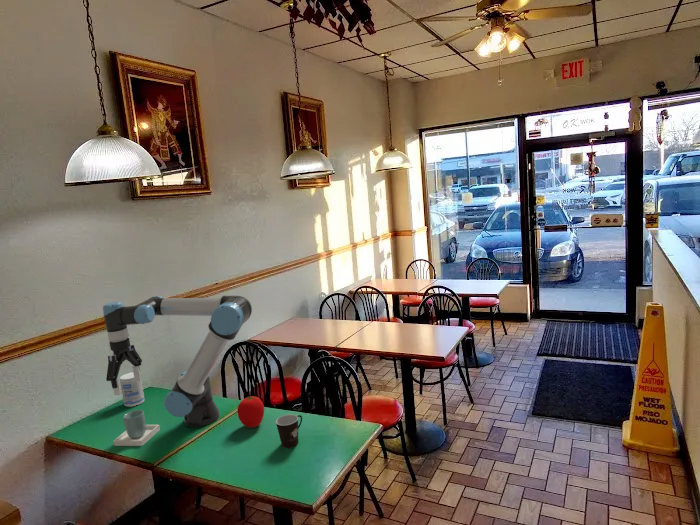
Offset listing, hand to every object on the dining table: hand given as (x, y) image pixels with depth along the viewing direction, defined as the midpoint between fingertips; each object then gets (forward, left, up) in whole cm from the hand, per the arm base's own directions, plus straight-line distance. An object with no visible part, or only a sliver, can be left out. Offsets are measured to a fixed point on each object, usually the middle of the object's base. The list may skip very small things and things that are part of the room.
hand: (128, 387), depth 201 cm
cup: (0, 0, -22) cm, 22 cm away
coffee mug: (-71, +4, -23) cm, 75 cm away
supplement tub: (+24, -32, -23) cm, 46 cm away
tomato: (-49, -9, -23) cm, 55 cm away
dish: (0, 0, -23) cm, 23 cm away
